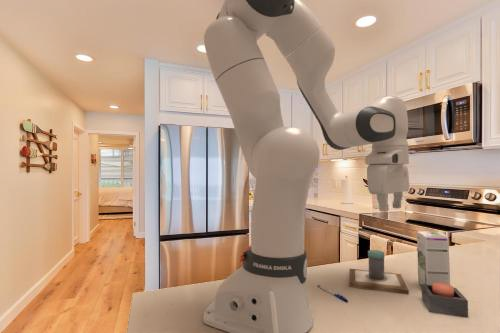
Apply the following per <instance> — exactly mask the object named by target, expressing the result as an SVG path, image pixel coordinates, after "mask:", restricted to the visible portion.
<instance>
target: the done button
mask: <svg viewBox="0 0 500 333" xmlns="http://www.w3.org/2000/svg"><path fill="white" fill-rule="evenodd" d="M454 288H455V287H454V286H453V285H451V284H450V285H449V284H445V283H440V282H435V283H432V291H433V295H440V296H448V297H454Z"/></svg>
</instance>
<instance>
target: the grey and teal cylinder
mask: <svg viewBox="0 0 500 333" xmlns="http://www.w3.org/2000/svg"><path fill="white" fill-rule="evenodd" d="M385 254H386V253H385V252H384V251H382V250H376V249H369V250H367V256H368V271H369V277H370V278H371V279H375V280H384V272H385Z"/></svg>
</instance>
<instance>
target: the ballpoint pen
mask: <svg viewBox="0 0 500 333" xmlns="http://www.w3.org/2000/svg"><path fill="white" fill-rule="evenodd" d="M317 287H319V288H320V289H322V290H323V291H324V292H327V293H328V294H330V295H332V296H333V297H335V298H337V299H339V300H341V301H342V302H345V303H349V301H348V299H347V298H346V297H345V296H343V295H341V294H340V293H335V292H333V291H332V290H330V289H327V287H325V286H322V285H320V284H317Z"/></svg>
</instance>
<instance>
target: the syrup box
mask: <svg viewBox="0 0 500 333" xmlns="http://www.w3.org/2000/svg"><path fill="white" fill-rule="evenodd" d="M416 240H417V241H416V243H417V244H416V246H417V248H416V249H417V274H418V275H417V280H418V281H417V282H418V284H419V285H420V286H421V287H422V284H428V285H432V283H435V282H440V283H445V284H449V285H451V271H450V270H451V269H450V268H451V267H450V245H449V244H450V243H449V236H448V235H445V234H444V233H441V232H439V231H431V230H430V231H429V230H426V231H423V230H422V231H418V230H417V231H416Z"/></svg>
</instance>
